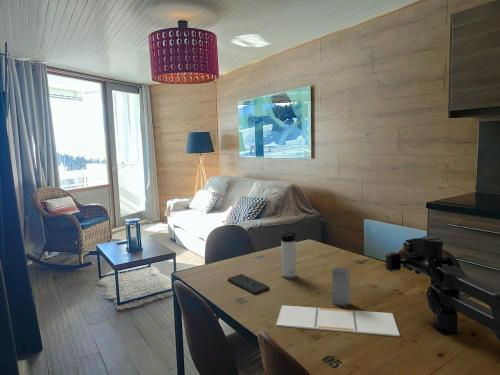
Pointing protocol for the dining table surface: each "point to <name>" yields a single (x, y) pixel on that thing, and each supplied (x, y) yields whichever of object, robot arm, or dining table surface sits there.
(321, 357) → the dining table surface
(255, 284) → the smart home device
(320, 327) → the board
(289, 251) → the travel mug
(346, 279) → the translucent grey tumbler
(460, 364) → the dining table surface
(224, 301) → the dining table surface
